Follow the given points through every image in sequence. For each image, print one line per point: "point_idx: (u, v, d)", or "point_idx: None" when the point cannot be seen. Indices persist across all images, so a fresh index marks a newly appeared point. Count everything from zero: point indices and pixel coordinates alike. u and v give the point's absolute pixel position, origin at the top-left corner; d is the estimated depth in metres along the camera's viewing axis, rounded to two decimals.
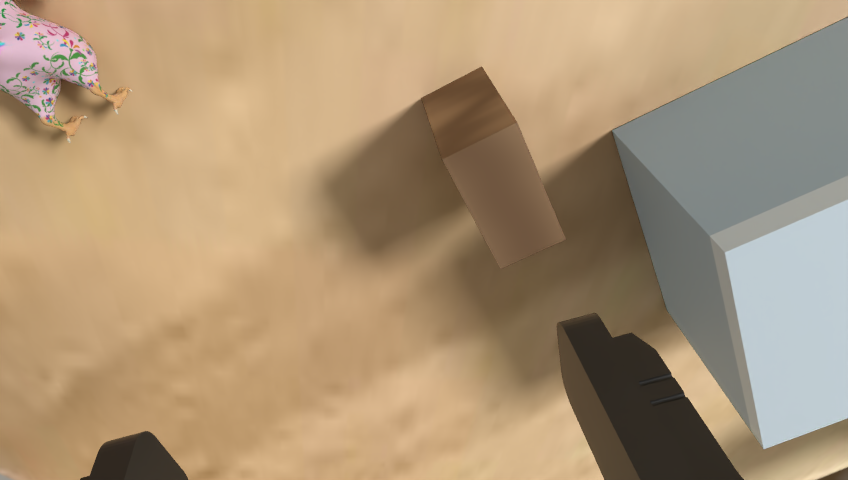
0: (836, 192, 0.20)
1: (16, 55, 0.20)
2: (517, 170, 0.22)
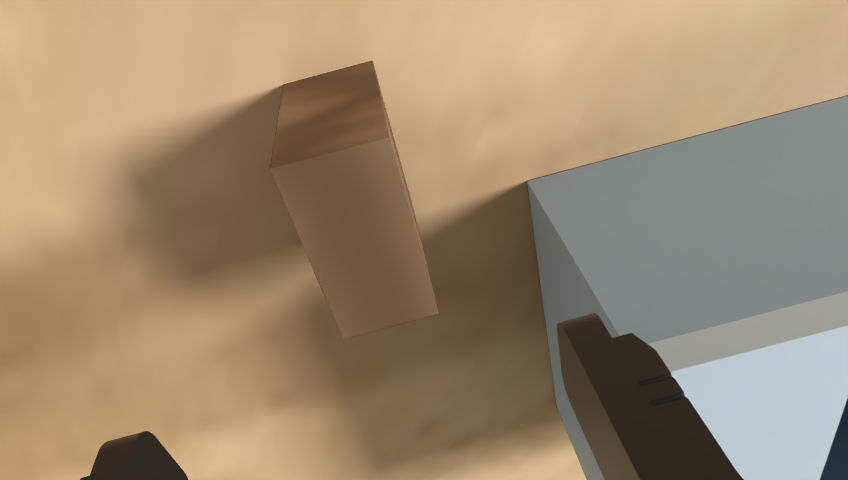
0: (799, 320, 0.14)
1: None
2: (382, 207, 0.15)
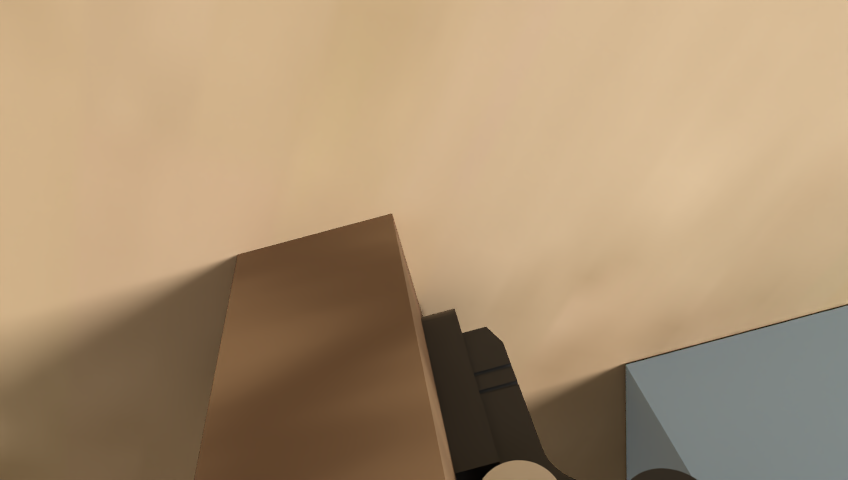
0: None
1: None
2: None
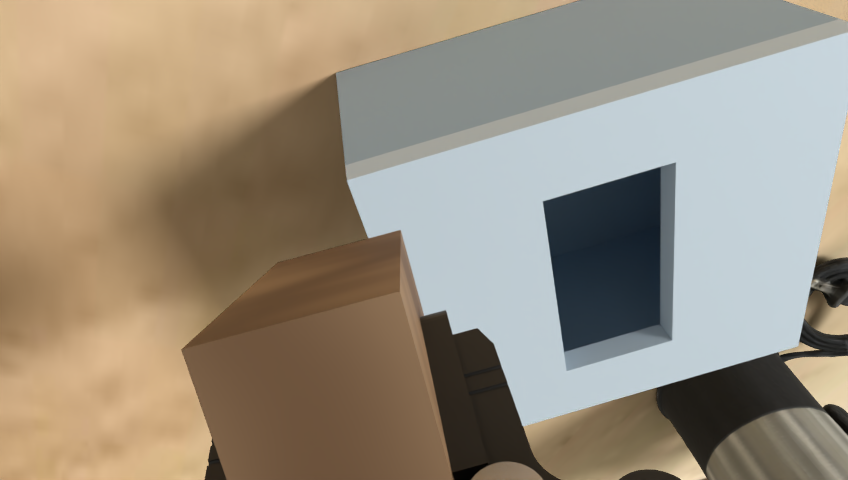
0: (478, 133, 0.18)
1: None
2: (388, 431, 0.08)
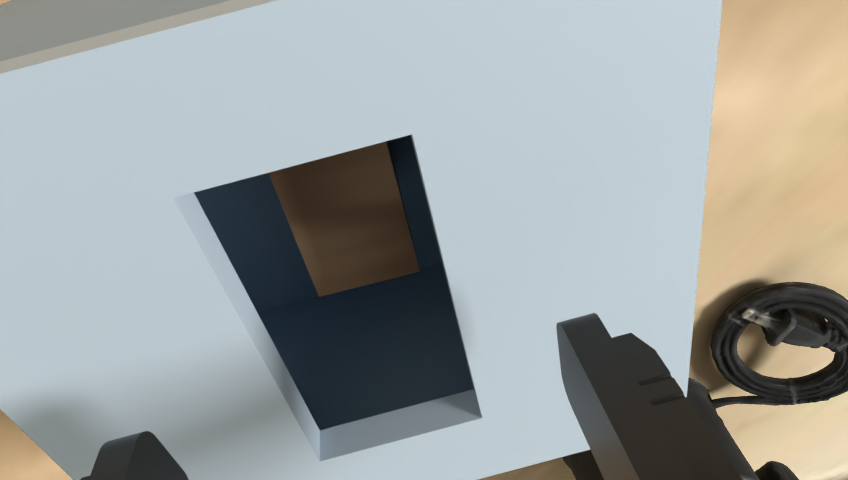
0: (7, 66, 0.09)
1: None
2: None
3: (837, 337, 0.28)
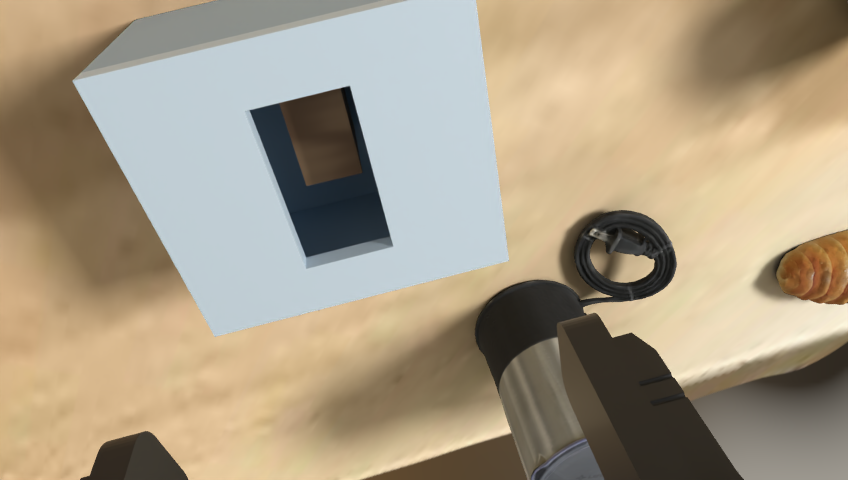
0: (182, 51, 0.23)
1: None
2: None
3: (651, 248, 0.42)
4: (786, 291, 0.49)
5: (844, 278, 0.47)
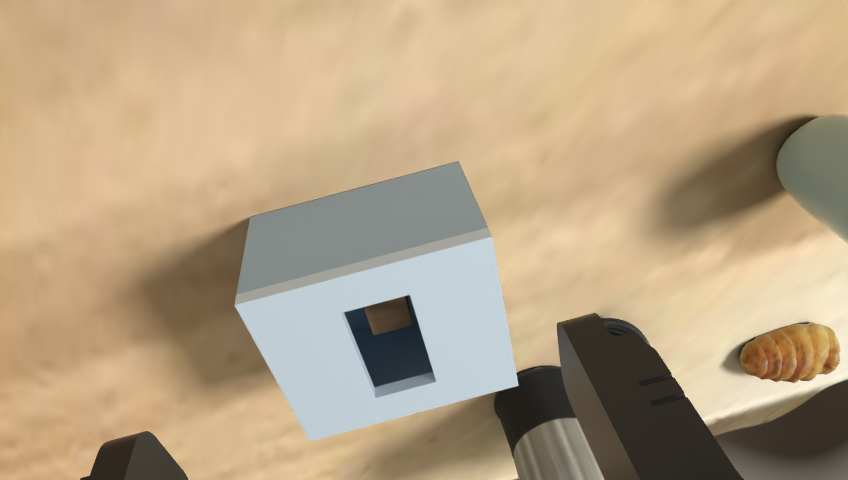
0: (302, 282, 0.35)
1: None
2: None
3: None
4: (747, 373, 0.60)
5: (792, 364, 0.58)
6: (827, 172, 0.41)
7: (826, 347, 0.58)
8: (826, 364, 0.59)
